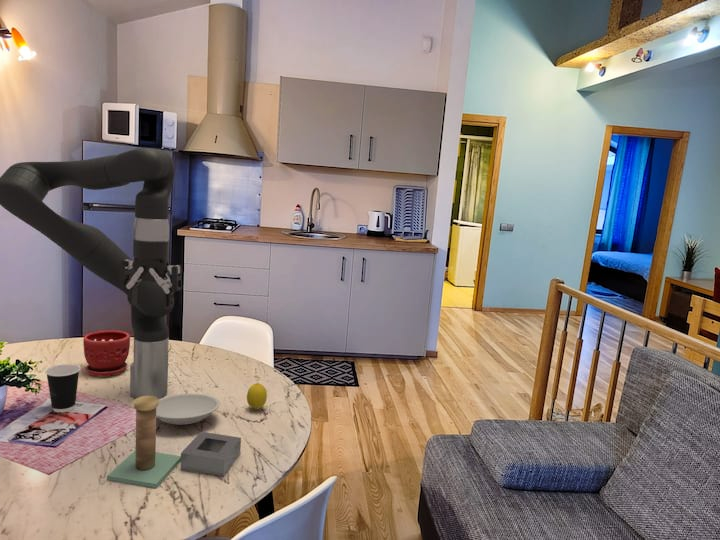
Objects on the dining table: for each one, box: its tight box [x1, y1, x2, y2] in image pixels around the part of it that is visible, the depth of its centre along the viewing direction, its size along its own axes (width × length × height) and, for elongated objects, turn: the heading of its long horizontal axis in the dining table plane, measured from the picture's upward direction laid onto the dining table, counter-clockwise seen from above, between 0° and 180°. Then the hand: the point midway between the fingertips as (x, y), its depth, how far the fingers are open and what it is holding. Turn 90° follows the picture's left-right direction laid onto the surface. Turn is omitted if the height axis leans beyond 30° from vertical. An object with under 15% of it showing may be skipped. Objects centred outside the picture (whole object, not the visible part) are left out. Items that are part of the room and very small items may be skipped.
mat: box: [106, 449, 181, 489], centre depth 110 cm, size 11×11×1 cm
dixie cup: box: [45, 363, 81, 413], centre depth 133 cm, size 8×8×11 cm
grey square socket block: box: [180, 431, 242, 477], centre depth 115 cm, size 10×10×4 cm
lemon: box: [246, 382, 268, 410], centre depth 142 cm, size 6×6×8 cm
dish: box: [156, 393, 221, 426], centre depth 132 cm, size 18×14×5 cm
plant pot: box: [83, 330, 131, 377], centre depth 159 cm, size 13×13×12 cm
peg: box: [133, 396, 158, 471], centre depth 109 cm, size 5×5×15 cm
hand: (150, 306), depth 118 cm, fingers open, 8 cm apart
